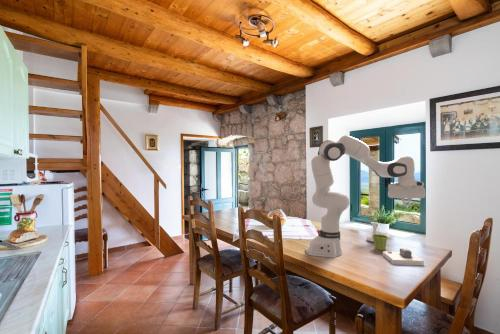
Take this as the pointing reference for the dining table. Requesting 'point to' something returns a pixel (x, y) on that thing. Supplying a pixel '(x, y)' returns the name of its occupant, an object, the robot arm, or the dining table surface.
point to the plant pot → (380, 241)
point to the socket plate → (402, 259)
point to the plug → (405, 253)
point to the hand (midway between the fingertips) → (406, 205)
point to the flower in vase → (374, 224)
